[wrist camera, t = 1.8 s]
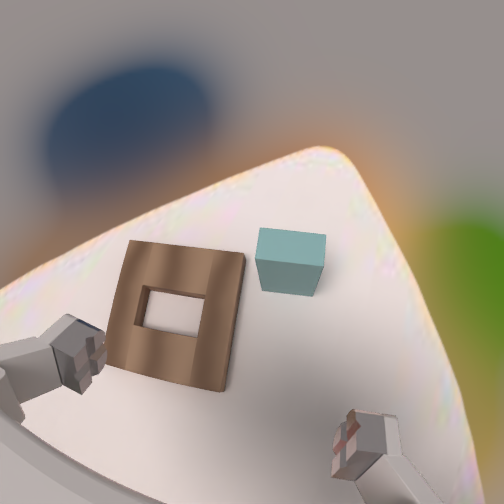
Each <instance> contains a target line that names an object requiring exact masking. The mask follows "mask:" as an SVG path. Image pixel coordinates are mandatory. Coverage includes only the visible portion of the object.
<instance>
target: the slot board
mask: <svg viewBox="0 0 504 504" xmlns="http://www.w3.org/2000/svg"><path fill="white" fill-rule="evenodd" d="M245 264H246V259H245V255H244V253H238V252H229V251H221V250H212V249H203V248H195V247H186V246H178V245H169V244H160V243H152V242H143V241H135V240H130V241H129V244H128V248H127V251H126V255H125V258H124V262H123V265H122V269H121V273H120V277H119V280H118V284H117V288H116V292H115V296H114V300H113V305H112V309H111V313H110V318H109V322H108V327H107V331H106V336H105V337H106V340H105V341H104V346H105V347H106V349H107V360H106V363H105V364H107V365H110V366H113V367H117V368H120V369H123V370H127V371H130V372H134V373H138V374H141V375H145V376H149V377H153V378H157V379H161V380H165V381H169V382H173V383H177V384H182V385H186V386H191V387H195V388H200V389H205V390H210V391H215V392H223V391H224V388H225V382H226V376H227V370H228V364H229V358H230V352H231V346H232V340H233V335H234V329H235V323H236V317H237V311H238V305H239V299H240V293H241V287H242V281H243V275H244V270H245ZM150 290H152V291H158V292H164V293H170V294H176V295H182V296H188V297H195V298H201V299H205V300H204V305H203V311H202V316H201V321H200V326H199V332H198V337H197V338H194V337H189V336H183V335H178V334H173V333H168V332H163V331H159V330H154V329H149V328H145V327H142V325H143V320H144V316H145V311H146V306H147V302H148V298H149V293H150Z"/></svg>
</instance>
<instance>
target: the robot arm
mask: <svg viewBox="0 0 504 504" xmlns="http://www.w3.org/2000/svg"><path fill="white" fill-rule="evenodd" d="M105 340H106V337H105V332H104V331H103V330H101V329H99V328H97V327H95V326H93V325H91V324H89V323H87V322H85V321H83V320H81V319H78V318H76V317H74V316H72V315H70V314H65V315H63V316H62V317H61V318H60V319H59V320H58V321H56V322H55V323H54V324H53V325H52V326H51V327H50V328H49V329H47V330H46V331H45V332H44V333H43V334H42V335H41V336H40V337H39V338H36V337H31V338H27V339H23V340H19V341H14V342H10V343H6V344H2V345H0V504H166V503H164V502H161V501H158V500H156V499H153V498H151V497H148V496H146V495H144V494H141V493H139V492H137V491H134V490H132V489H130V488H128V487H126V486H123V485H121V484H119V483H117V482H115V481H113V480H111V479H109V478H107V477H105V476H103V475H101V474H99V473H97V472H95V471H94V470H92V469H90V468H88V467H86V466H84V465H83V464H81V463H79V462H77V461H76V460H74V459H72V458H71V457H69V456H67V455H66V454H64V453H62V452H61V451H59V450H58V449H56V448H54V447H53V446H51V445H50V444H48V443H47V442H45V441H44V440H42V439H41V438H39V437H38V436H36V435H35V434H33V433H32V432H31V431H29V430H28V429H26V428H25V427H24V426H22V425H21V423H22V422H23V420H24V419H25V414H24V412H23V410H22V408H21V406H20V404H21V403H23V402H26V401H28V400H30V399H33V398H35V397H38V396H40V395H42V394H45V393H47V392H49V391H52V390H54V389H56V388H58V387H61V386H62V385H64V386H66V387H68V388H70V389H71V390H73V391H75V392H77V393H79V394H81V395H82V394H83V393H84V392H85V391H86V389H87V388H88V387H89V386H90V384H91V383H92V376H94V375H97V374H99V373H100V372H101V371H102V369H103V368H104V365H105V363H106V360H107V349H106V347H105V346H104V344H103V342H104V341H105ZM333 451H334V452H335V454H336V457H335V458H334V459H333V460H332V468H331V478H337V479H344V480H351V481H355V484H356V486H357V488H358V490H359V492H360V494H361V496H362V498H363V499H364V501H365V503H366V504H443V502H442V501H441V500H440V499H439V497H438V496H437V495H436V494H435V492H434V491H433V490H432V488H431V487H430V486H429V485H428V483H427V482H426V481H425V480H424V478H423V477H422V476H421V475H420V473H419V472H418V471H417V469H416V468H415V467H414V466H413V464H412V463H411V462H410V461H409V459H408V458H407V457H406V456H402V448H401V441H400V433H399V426H398V419H397V417H396V416H394V415H387V414H380V413H375V412H368V411H362V410H357V409H352V410H351V411H350V412H349V413H348V415H347V421H346V422H344V423H342V424H341V425H340V426H339V428H338V429H337V431H336V434H335V436H334V441H333Z"/></svg>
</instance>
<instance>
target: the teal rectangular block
mask: <svg viewBox="0 0 504 504" xmlns="http://www.w3.org/2000/svg"><path fill="white" fill-rule="evenodd" d="M325 245H326V235H324V234H315V233H306V232H297V231H288V230H279V229H270V228H260V230H259V237H258V243H257V249H256V255H255V261H256V265H257V270H258V274H259V279H260V283H261V288H262V291H269V292H277V293H286V294H294V295H303V296H313V294H314V291H315V288H316V286H317V283H318V281H319V278H320V275H321V273H322V270H323V267H324V258H325Z"/></svg>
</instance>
